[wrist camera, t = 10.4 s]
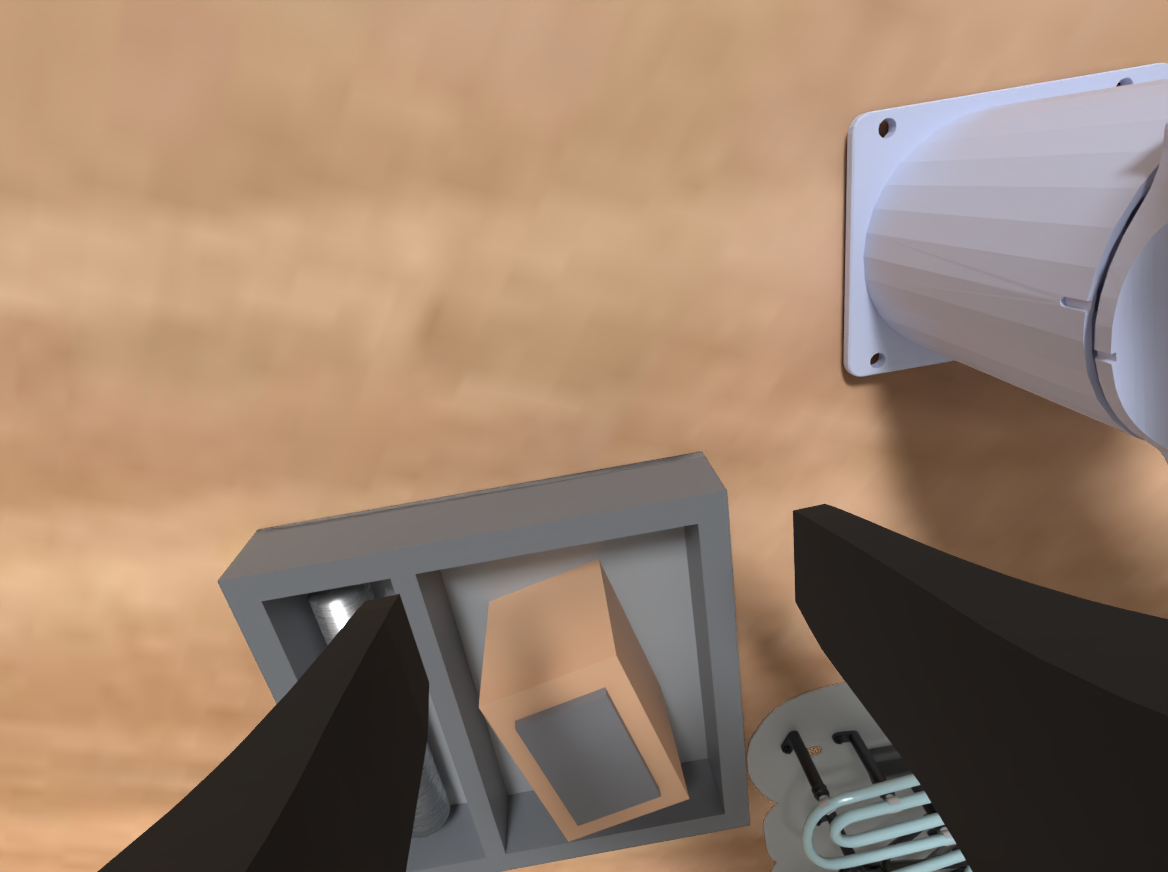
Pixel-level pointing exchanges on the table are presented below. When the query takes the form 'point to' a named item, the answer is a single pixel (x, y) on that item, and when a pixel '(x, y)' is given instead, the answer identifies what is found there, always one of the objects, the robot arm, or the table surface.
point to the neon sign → (843, 792)
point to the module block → (579, 703)
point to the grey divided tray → (459, 620)
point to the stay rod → (432, 798)
